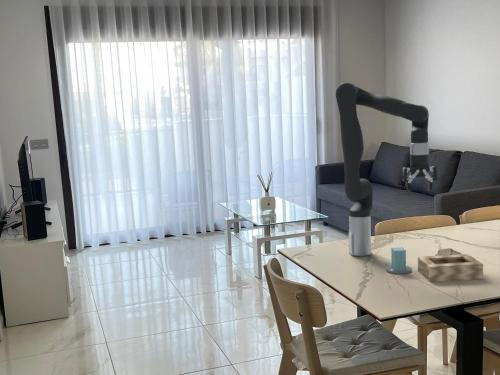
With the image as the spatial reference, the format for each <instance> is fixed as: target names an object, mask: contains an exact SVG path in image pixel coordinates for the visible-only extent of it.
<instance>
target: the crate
mask: <svg viewBox="0 0 500 375" xmlns="http://www.w3.org/2000/svg"><path fill="white" fill-rule="evenodd" d="M417 272H418V273H419V274H420V275H421V276H423V277H424V278H425V279H426V280H427V281H428V282H430V283H434V282H435V283H436V282H453V281H455V282H456V281H470V280H471V281H472V280H483V279H484V263H482V262H481V261H479V260H478V259H476V258H475V257H473V256H472V255H470V254H469V253H465V254H464V253H461V254H460V255H442V256H435V255H428V256H427V255H425V256H417Z"/></svg>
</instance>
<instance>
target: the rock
mask: <svg viewBox="0 0 500 375" xmlns="http://www.w3.org/2000/svg"><path fill="white" fill-rule="evenodd" d="M460 254H462V253H461V252H460V251H457V250H454V249H453V248H450V247H448V248H447V247H446V248H440V249H438V251H437V253H436V254H435V255H434V256H442V255H460Z"/></svg>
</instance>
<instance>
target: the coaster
mask: <svg viewBox="0 0 500 375" xmlns="http://www.w3.org/2000/svg"><path fill="white" fill-rule="evenodd" d="M412 269H413V268H412V267H410V266H408V265H406V270H397V271H395V270H394V269H393V268H392V265H388V266H386V267H385V271H386V272H387V273H389V274H392V275H407V274H410V273H412V271H413V270H412Z"/></svg>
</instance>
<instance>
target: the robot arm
mask: <svg viewBox="0 0 500 375" xmlns="http://www.w3.org/2000/svg"><path fill="white" fill-rule="evenodd" d="M335 100H336V103H337V108H338V113H339V120H340V121H339V124H340V137H341V138H340V139H341V148H342V156H343V166H344V167H343V169H344V192H345V195H346V196H345V197H347V199H348V200H349V201H350V202H353V205H352V206H351V207H350V208H349V211H348V218H349V219H348V220H349V224H348V225H349V231H348V253H349V254H350V255H351V256H354V257H355V256H357V257H365V256H369V255H371V254H372V236H371V235H372V233H371V230H372V228H371V227H372V225H371V224H372V222H371V212H372V208H373V193H374V192H373V185H372V184H371V181H369V179H366V178H361V176H360V166H361V162H362V158H363V155H364V136H363V131H362V127H361V124H360V121H359V118H358V112H357V106H364V107H366V108H370V109H373V110H376V111H378V112H381V113H384V114H387V115H390V116H394V117H399V118H402V119H405V120H407V121H410V122H411V131H410V147H409V149H410V150H409V157H410V158H409V164H410V166H409V167H402V178H401V181H402V182H404V183H406V191H407V192H408V193H412V181H414V179H415V178H425V179H426V180H427V191H429V192H431V191H432V190H433V182H436V181H437V180H438V174H437V173H438V171H437V169H438V168H437V166H436V165H435V166H434V165H431V166H430V162H429V161H430V154H429V152H430V149H429V148H430V147H429V129H428V128H429V116H430V114H429V109H428V107H426V106H425V105H422V104H420V105H418V104H414V103H410V102H406V101H405V100H402V99H400V98H395V97H391V96H387V95H382V94H378V93H373V92H369V91H367V90H365V89H362V88H360V87H359V86H357V85H355V84H353V83H350V82H342V83H340V84H339V85H338V86H337V88H336V90H335ZM429 171H430V172H431V175H430V174H429ZM409 172H410V174H409V176H408V173H409Z"/></svg>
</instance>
